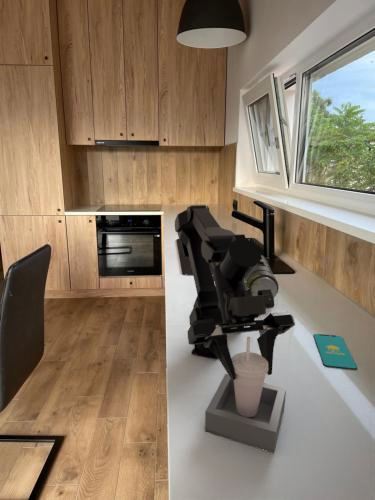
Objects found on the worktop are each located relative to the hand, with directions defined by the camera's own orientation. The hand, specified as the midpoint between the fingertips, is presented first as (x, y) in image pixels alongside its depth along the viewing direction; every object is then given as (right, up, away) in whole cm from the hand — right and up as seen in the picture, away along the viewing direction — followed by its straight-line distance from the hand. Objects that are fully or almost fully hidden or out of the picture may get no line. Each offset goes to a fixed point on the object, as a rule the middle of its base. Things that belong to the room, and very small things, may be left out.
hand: (252, 377), depth 58 cm
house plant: (+3, 0, +37) cm, 37 cm away
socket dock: (0, -9, +3) cm, 9 cm away
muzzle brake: (+14, +7, +65) cm, 67 cm away
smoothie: (0, -7, +3) cm, 8 cm away
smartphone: (+25, -4, +26) cm, 36 cm away
